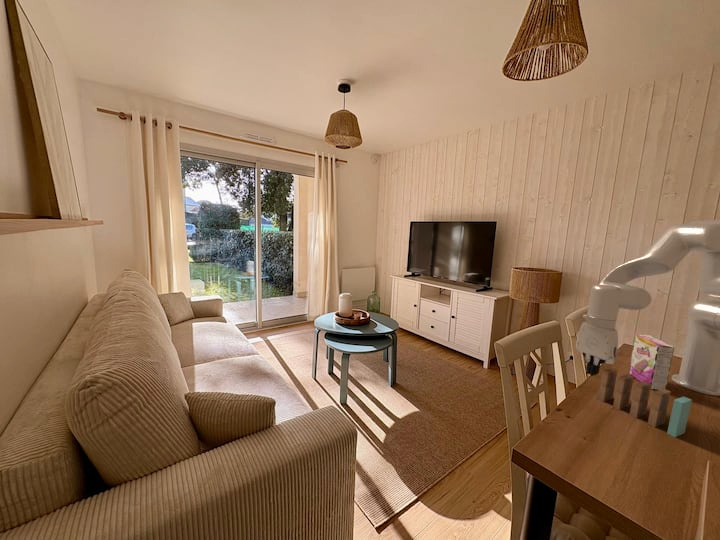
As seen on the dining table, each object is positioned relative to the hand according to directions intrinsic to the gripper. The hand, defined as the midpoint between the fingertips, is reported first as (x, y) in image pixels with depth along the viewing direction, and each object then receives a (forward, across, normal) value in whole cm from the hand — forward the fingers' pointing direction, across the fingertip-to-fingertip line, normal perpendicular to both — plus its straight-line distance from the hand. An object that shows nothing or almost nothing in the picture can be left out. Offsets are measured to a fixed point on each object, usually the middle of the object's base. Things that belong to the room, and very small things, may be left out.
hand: (591, 373), depth 97 cm
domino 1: (+6, +5, 0) cm, 8 cm away
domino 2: (+6, +9, 0) cm, 11 cm away
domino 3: (+6, +13, 0) cm, 15 cm away
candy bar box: (+6, +4, +27) cm, 28 cm away
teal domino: (+6, +22, 0) cm, 22 cm away
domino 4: (+6, +17, 0) cm, 18 cm away
